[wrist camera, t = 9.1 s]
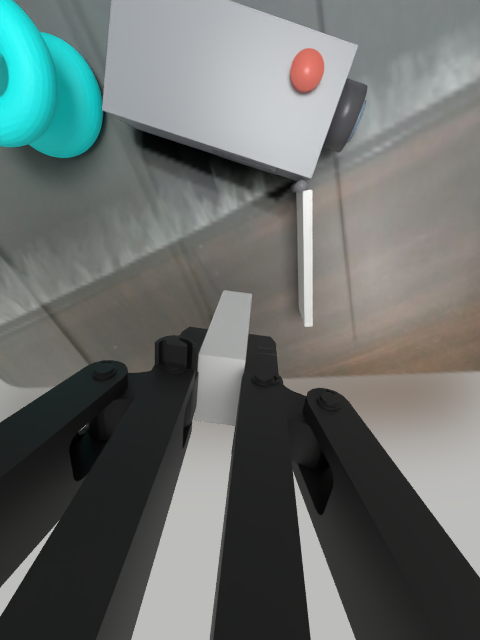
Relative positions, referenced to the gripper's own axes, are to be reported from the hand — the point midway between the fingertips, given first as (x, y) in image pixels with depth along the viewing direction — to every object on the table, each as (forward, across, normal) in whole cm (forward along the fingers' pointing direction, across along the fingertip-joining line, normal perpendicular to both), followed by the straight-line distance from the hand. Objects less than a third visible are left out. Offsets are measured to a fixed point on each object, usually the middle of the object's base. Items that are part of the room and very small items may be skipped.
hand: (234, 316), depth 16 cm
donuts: (+21, -21, +12) cm, 32 cm away
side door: (+20, +6, +1) cm, 21 cm away
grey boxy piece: (+20, -2, +13) cm, 24 cm away
